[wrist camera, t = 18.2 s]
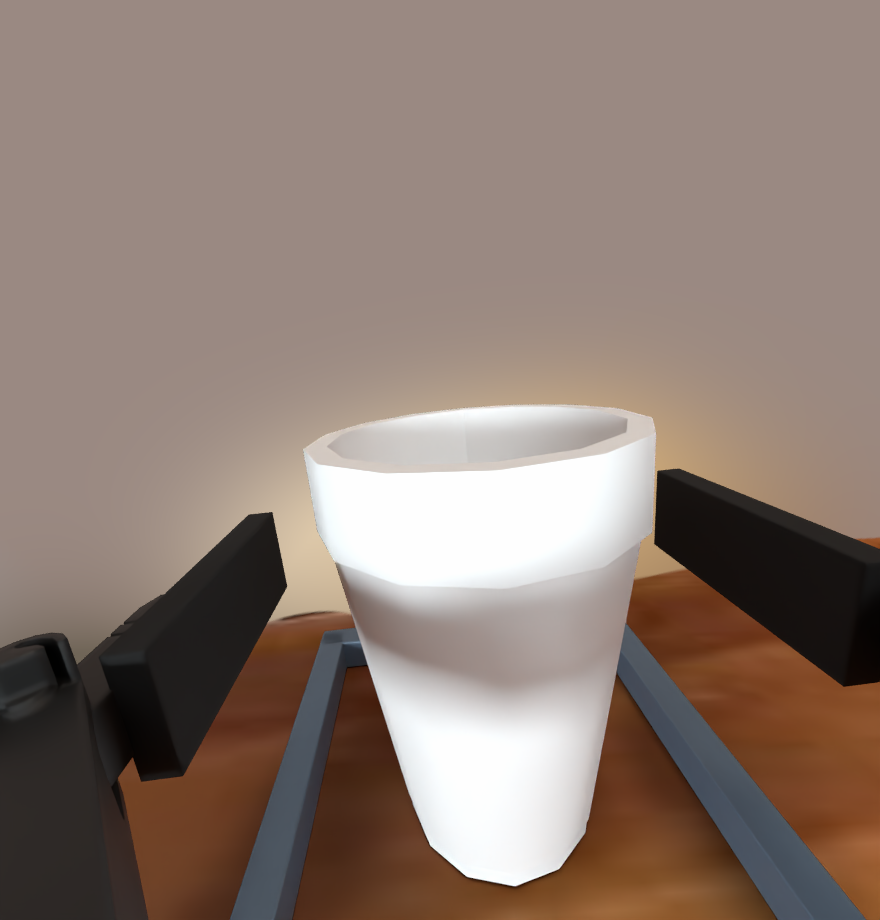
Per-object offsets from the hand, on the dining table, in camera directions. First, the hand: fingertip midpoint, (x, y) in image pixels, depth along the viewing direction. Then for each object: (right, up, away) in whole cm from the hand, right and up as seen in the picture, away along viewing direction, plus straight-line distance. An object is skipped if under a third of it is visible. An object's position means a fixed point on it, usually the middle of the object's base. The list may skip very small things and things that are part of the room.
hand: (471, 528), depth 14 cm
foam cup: (+1, -9, +1) cm, 10 cm away
